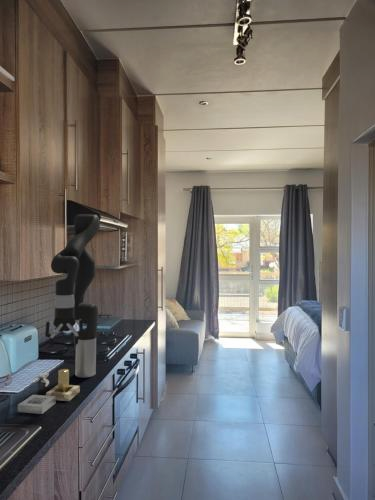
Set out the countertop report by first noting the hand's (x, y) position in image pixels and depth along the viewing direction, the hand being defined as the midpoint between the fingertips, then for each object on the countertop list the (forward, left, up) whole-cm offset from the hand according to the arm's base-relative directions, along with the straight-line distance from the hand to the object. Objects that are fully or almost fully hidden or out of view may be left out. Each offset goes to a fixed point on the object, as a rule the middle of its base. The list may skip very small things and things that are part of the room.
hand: (64, 346), depth 145 cm
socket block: (+12, -4, -20) cm, 24 cm away
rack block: (0, 0, -20) cm, 20 cm away
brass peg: (0, 0, -20) cm, 20 cm away
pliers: (-13, -18, -20) cm, 30 cm away
